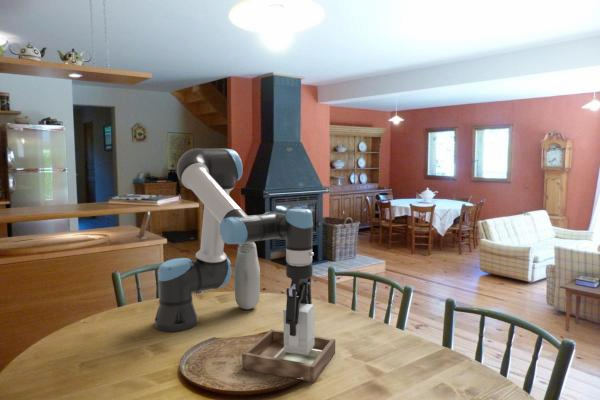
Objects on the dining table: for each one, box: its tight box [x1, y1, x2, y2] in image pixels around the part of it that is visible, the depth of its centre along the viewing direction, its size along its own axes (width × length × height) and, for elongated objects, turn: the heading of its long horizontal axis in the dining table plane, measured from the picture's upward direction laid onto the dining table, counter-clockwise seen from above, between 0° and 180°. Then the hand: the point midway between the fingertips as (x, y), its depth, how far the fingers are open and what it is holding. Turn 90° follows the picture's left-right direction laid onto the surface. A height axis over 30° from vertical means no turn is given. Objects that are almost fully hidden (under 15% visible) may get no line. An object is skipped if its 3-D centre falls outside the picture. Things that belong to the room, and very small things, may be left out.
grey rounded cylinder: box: [233, 241, 261, 310], centre depth 182 cm, size 10×10×28 cm
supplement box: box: [282, 303, 315, 355], centre depth 132 cm, size 7×7×13 cm
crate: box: [241, 329, 336, 384], centre depth 137 cm, size 22×20×4 cm
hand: (299, 340), depth 132 cm, fingers closed on supplement box, 7 cm apart
